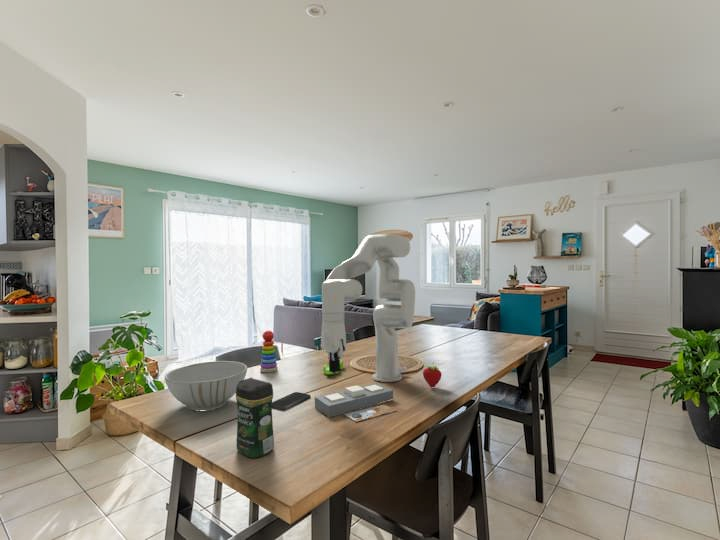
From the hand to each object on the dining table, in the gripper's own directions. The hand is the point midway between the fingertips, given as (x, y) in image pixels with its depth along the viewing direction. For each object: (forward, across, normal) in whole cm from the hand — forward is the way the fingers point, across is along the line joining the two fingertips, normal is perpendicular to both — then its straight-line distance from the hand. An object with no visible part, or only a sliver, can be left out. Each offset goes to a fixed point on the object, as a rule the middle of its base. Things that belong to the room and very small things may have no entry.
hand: (334, 371), depth 125 cm
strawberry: (+13, +3, +42) cm, 44 cm away
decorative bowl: (+13, -29, -35) cm, 47 cm away
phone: (+13, -15, -10) cm, 22 cm away
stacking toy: (+13, -58, -3) cm, 59 cm away
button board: (+13, 0, +8) cm, 15 cm away
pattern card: (+13, +10, +8) cm, 18 cm away
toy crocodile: (+13, -40, +21) cm, 47 cm away
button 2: (+12, 0, +16) cm, 20 cm away
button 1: (+12, 0, 0) cm, 12 cm away
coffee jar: (+13, +13, -31) cm, 36 cm away
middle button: (+11, 0, +8) cm, 13 cm away
